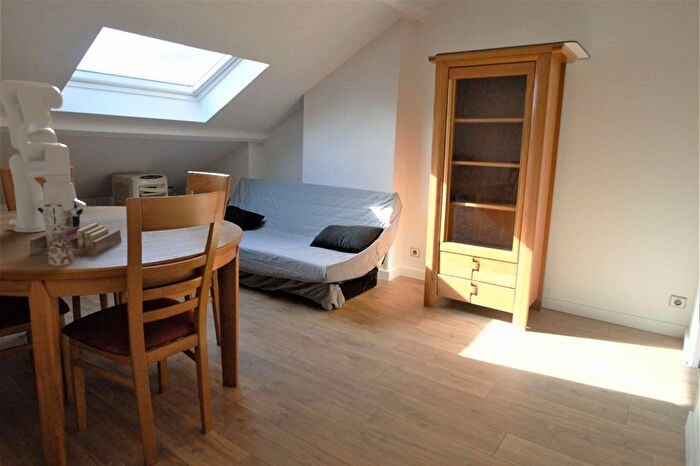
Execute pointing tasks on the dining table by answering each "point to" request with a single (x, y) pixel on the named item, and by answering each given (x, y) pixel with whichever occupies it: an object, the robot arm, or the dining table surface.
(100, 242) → the rack
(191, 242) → the dining table surface
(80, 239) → the offcuts
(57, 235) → the figurine
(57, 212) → the candy bar box
